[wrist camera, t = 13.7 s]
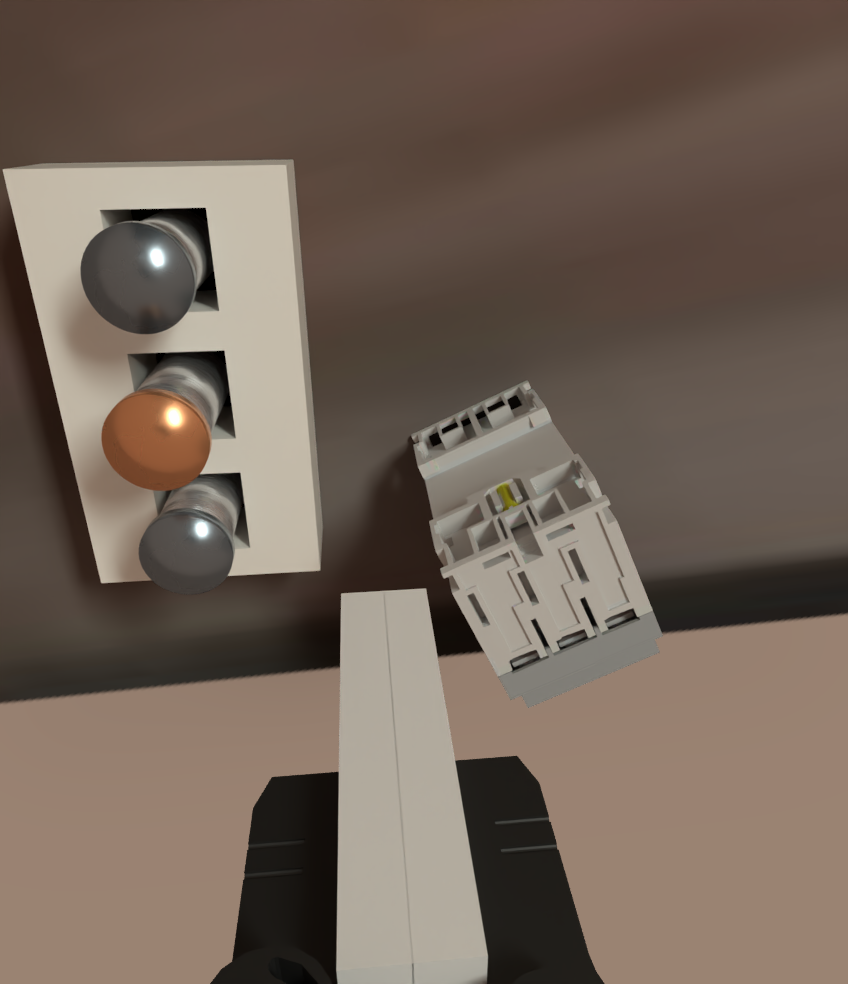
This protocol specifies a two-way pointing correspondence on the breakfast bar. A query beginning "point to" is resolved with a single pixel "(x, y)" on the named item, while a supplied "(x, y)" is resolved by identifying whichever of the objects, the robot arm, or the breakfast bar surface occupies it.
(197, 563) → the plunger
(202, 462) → the plunger mid
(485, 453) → the circuit breaker
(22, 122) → the breakfast bar surface
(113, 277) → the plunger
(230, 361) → the panel
